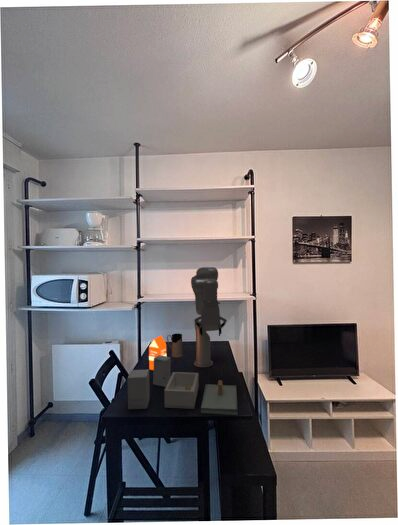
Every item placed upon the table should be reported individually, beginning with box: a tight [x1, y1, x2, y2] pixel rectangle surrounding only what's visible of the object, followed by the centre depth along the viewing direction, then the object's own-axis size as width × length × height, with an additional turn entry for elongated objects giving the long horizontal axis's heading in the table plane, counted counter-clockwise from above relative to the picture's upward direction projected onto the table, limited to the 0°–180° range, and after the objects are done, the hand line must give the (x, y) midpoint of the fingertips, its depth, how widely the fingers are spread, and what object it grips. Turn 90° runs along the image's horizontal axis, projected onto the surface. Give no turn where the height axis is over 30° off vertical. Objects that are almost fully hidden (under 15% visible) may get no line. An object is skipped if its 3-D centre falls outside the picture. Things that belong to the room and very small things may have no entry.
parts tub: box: [164, 371, 200, 410], centre depth 128 cm, size 20×14×8 cm
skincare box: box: [152, 355, 172, 388], centre depth 142 cm, size 8×6×15 cm
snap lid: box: [200, 379, 239, 416], centre depth 124 cm, size 22×16×7 cm
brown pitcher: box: [166, 333, 184, 358], centre depth 187 cm, size 9×14×15 cm, turn 53°
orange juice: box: [148, 335, 168, 371], centre depth 164 cm, size 8×9×20 cm
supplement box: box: [127, 369, 151, 410], centre depth 122 cm, size 9×9×15 cm
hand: (210, 335), depth 135 cm, fingers open, 9 cm apart
